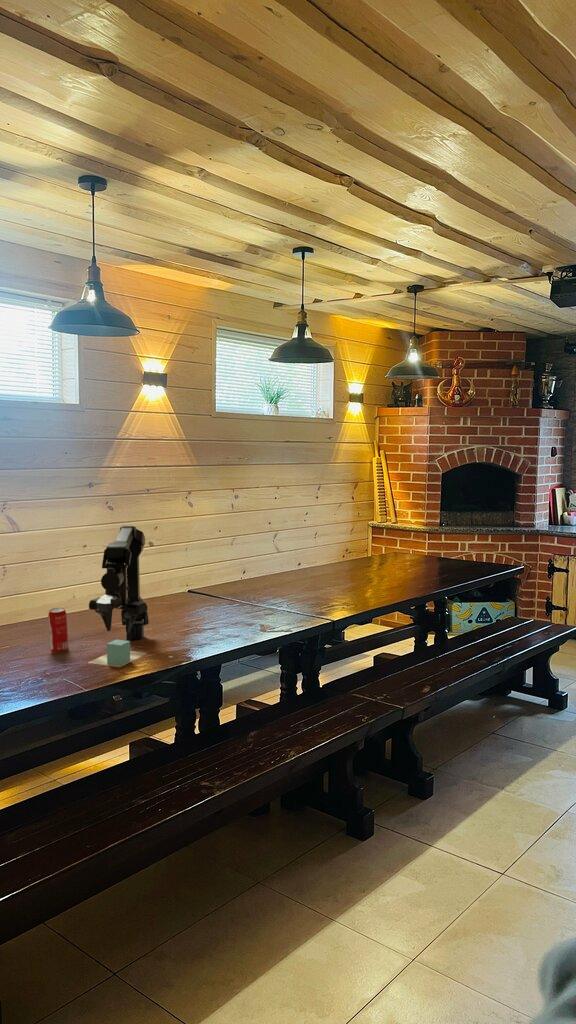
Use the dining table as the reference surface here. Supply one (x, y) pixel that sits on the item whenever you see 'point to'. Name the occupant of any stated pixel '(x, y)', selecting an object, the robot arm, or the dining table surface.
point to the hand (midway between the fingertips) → (118, 632)
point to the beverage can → (58, 630)
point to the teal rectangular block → (118, 652)
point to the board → (103, 661)
